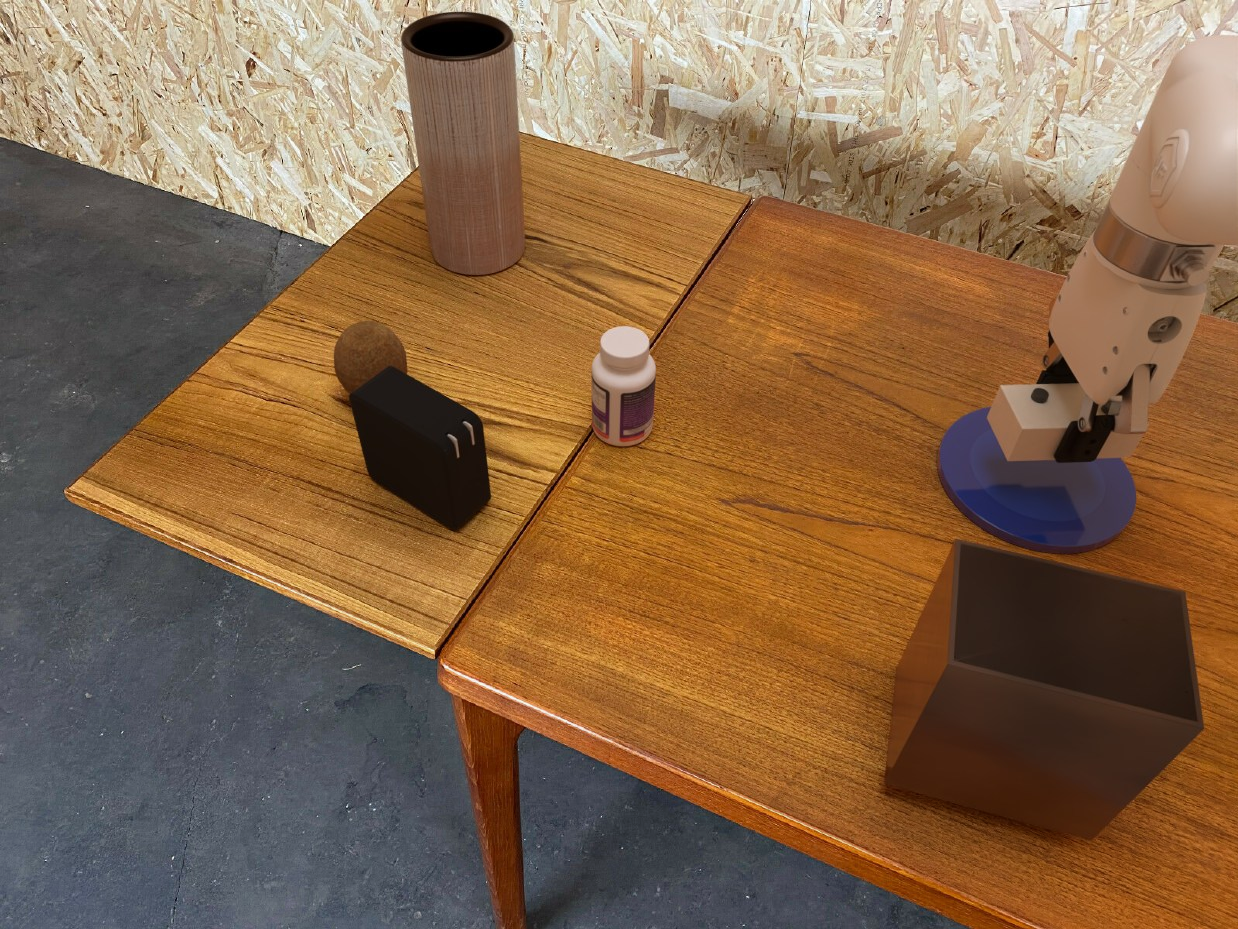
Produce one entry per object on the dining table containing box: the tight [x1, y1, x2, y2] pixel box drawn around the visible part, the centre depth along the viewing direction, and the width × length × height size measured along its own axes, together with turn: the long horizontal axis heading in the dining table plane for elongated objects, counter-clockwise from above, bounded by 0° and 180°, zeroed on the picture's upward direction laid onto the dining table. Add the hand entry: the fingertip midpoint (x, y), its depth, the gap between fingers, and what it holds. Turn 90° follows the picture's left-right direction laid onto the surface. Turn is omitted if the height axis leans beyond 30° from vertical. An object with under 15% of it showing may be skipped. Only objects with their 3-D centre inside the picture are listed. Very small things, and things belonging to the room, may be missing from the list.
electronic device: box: [348, 366, 492, 532], centre depth 75 cm, size 4×10×10 cm, turn 54°
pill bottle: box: [590, 325, 657, 447], centre depth 81 cm, size 5×5×10 cm
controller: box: [987, 383, 1150, 461], centre depth 75 cm, size 10×5×4 cm, turn 94°
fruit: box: [333, 320, 408, 395], centre depth 83 cm, size 6×6×8 cm
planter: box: [400, 11, 526, 276], centre depth 93 cm, size 10×10×23 cm
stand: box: [883, 538, 1205, 842], centre depth 59 cm, size 13×9×15 cm
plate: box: [936, 406, 1137, 555], centre depth 81 cm, size 16×16×1 cm
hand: (1059, 431), depth 76 cm, fingers closed on controller, 5 cm apart
